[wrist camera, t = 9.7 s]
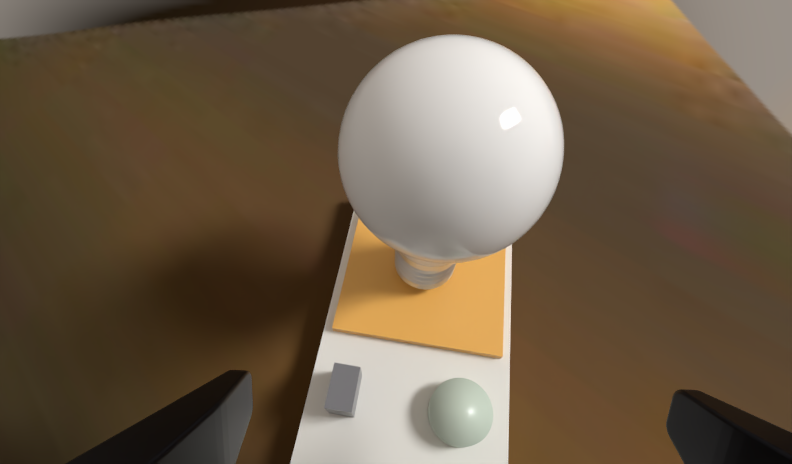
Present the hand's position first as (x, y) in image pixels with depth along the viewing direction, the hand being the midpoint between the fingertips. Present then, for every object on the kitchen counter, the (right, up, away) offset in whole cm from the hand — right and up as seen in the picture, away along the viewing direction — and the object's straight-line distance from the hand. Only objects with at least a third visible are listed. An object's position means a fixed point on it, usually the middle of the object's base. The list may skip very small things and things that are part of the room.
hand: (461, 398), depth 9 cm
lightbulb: (0, +2, +10) cm, 10 cm away
